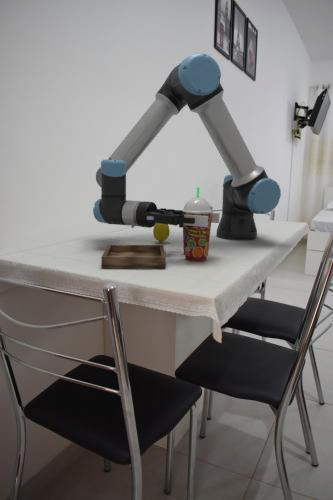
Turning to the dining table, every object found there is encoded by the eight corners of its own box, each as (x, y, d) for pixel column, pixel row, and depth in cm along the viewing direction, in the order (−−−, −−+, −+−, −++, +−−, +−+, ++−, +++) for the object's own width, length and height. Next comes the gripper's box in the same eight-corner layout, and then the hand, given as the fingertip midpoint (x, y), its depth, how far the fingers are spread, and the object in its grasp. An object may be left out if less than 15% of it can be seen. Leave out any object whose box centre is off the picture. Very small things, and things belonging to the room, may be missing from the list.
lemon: (169, 241, 135) (170, 218, 133) (168, 244, 129) (168, 220, 128) (154, 241, 135) (154, 218, 134) (152, 244, 130) (152, 220, 128)
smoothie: (184, 263, 105) (186, 187, 101) (178, 256, 113) (180, 186, 109) (214, 262, 106) (217, 188, 102) (206, 255, 114) (209, 186, 110)
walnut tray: (163, 255, 114) (163, 245, 113) (165, 269, 98) (165, 257, 98) (108, 254, 113) (108, 244, 112) (101, 268, 97) (101, 257, 97)
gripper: (157, 222, 125) (225, 228, 115) (121, 231, 107) (197, 239, 97) (158, 199, 123) (226, 203, 113) (121, 203, 105) (198, 209, 95)
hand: (213, 219), depth 105 cm, fingers closed on smoothie, 8 cm apart
